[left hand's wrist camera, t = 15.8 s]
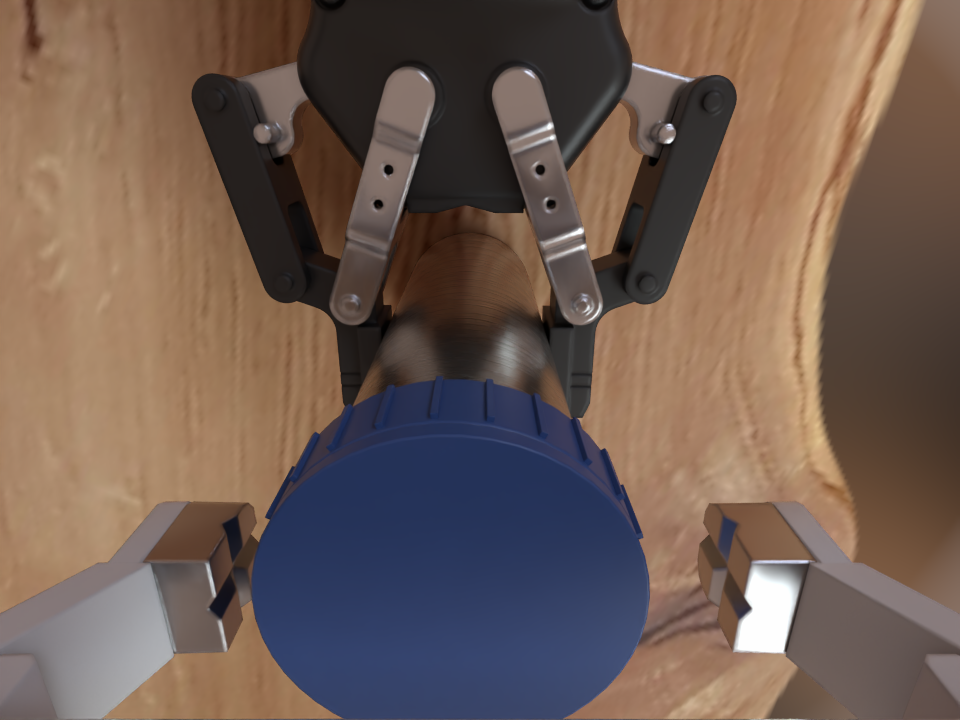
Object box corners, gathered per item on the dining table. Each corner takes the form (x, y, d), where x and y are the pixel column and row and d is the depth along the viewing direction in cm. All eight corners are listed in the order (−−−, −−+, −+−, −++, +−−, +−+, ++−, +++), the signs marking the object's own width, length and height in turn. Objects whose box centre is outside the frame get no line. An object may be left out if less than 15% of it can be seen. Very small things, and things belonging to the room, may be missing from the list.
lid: (653, 385, 9) (692, 444, 8) (600, 662, 11) (621, 755, 10) (273, 362, 9) (226, 417, 7) (293, 648, 11) (261, 740, 10)
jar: (544, 329, 25) (643, 654, 10) (433, 363, 25) (364, 719, 10) (509, 215, 23) (565, 398, 8) (391, 254, 24) (236, 492, 9)
